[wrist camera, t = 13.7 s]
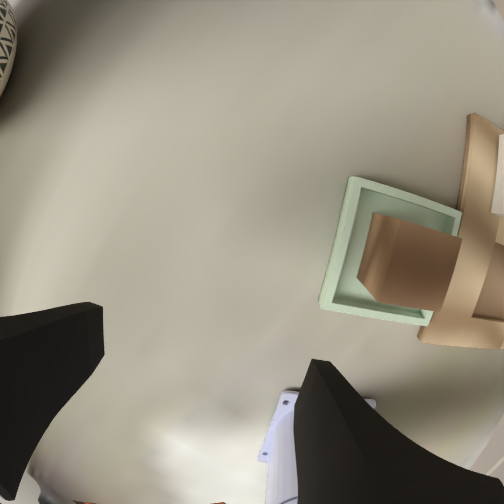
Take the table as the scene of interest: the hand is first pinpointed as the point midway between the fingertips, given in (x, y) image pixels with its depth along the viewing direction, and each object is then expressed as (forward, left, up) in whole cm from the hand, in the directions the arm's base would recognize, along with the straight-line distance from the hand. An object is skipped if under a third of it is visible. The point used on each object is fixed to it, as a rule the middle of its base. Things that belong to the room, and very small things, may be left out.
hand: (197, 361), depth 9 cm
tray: (+4, -10, -10) cm, 14 cm away
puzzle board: (+7, -20, -10) cm, 23 cm away
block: (+4, -10, -10) cm, 14 cm away
